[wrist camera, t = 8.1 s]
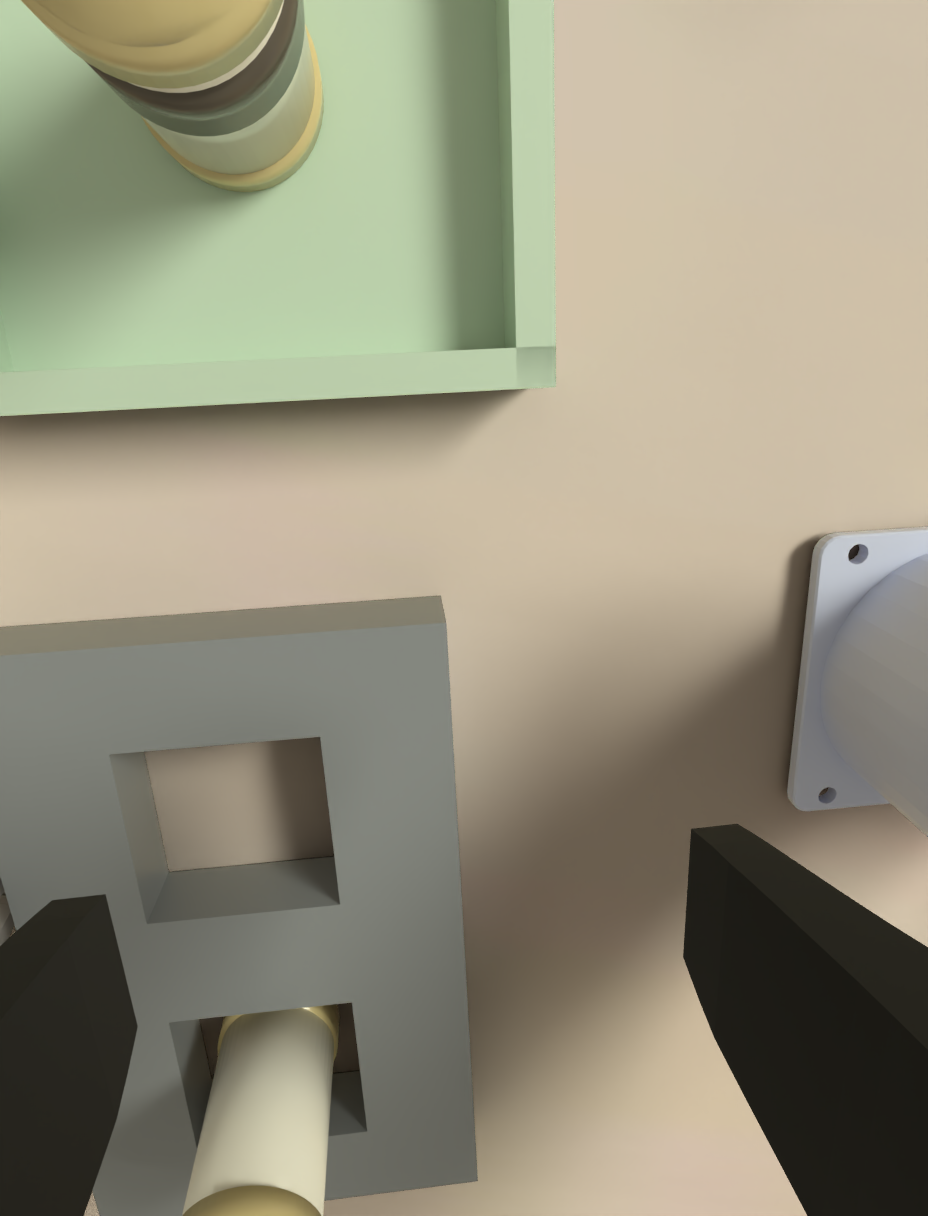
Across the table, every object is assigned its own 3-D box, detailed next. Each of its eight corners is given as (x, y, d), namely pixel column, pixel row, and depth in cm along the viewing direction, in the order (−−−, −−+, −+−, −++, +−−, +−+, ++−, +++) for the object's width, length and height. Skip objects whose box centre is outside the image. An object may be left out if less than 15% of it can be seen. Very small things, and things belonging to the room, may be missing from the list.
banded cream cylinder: (321, -4, 14) (275, -319, 8) (326, 196, 15) (289, 69, 9) (134, -21, 14) (-82, -367, 7) (152, 187, 15) (-25, 45, 8)
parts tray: (526, -311, 14) (551, -430, 12) (536, 382, 18) (555, 387, 16) (-176, -321, 13) (-286, -451, 11) (-3, 410, 17) (-58, 419, 15)
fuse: (332, 967, 22) (312, 1224, 16) (345, 1054, 24) (332, 1327, 17) (215, 982, 22) (145, 1250, 16) (233, 1069, 23) (176, 1353, 17)
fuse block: (440, 595, 19) (446, 623, 17) (471, 1118, 25) (477, 1180, 23) (-17, 628, 18) (-64, 660, 16) (126, 1160, 24) (103, 1229, 22)
